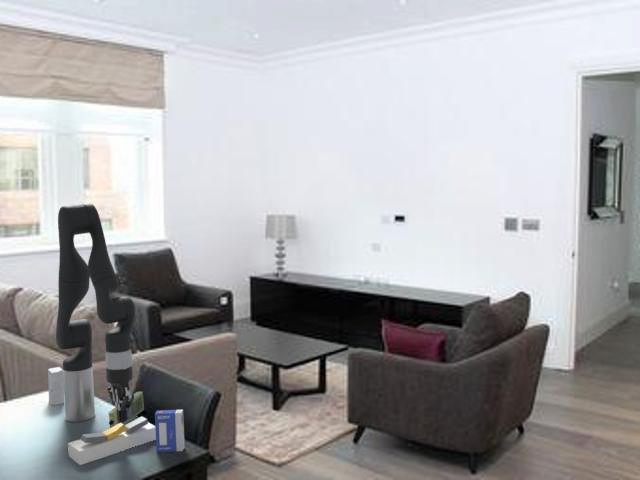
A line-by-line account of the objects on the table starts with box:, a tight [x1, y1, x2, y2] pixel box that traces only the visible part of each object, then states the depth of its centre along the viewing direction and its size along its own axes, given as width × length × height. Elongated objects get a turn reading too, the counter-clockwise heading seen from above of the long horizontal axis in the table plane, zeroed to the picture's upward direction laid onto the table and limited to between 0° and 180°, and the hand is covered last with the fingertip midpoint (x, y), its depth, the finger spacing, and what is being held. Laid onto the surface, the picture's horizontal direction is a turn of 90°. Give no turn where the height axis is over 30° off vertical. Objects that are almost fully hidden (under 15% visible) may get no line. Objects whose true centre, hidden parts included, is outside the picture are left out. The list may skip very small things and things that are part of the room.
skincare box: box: [47, 366, 65, 406], centre depth 225 cm, size 6×4×12 cm
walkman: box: [154, 409, 185, 453], centre depth 185 cm, size 8×3×12 cm, turn 94°
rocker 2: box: [125, 416, 149, 433], centre depth 190 cm, size 3×6×2 cm, turn 134°
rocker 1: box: [101, 423, 127, 440], centre depth 185 cm, size 3×6×2 cm, turn 134°
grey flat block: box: [80, 432, 106, 443], centre depth 181 cm, size 3×6×2 cm, turn 134°
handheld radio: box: [108, 391, 145, 429], centre depth 205 cm, size 7×3×25 cm
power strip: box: [67, 422, 156, 466], centre depth 187 cm, size 8×24×4 cm, turn 134°
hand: (121, 421), depth 187 cm, fingers closed
